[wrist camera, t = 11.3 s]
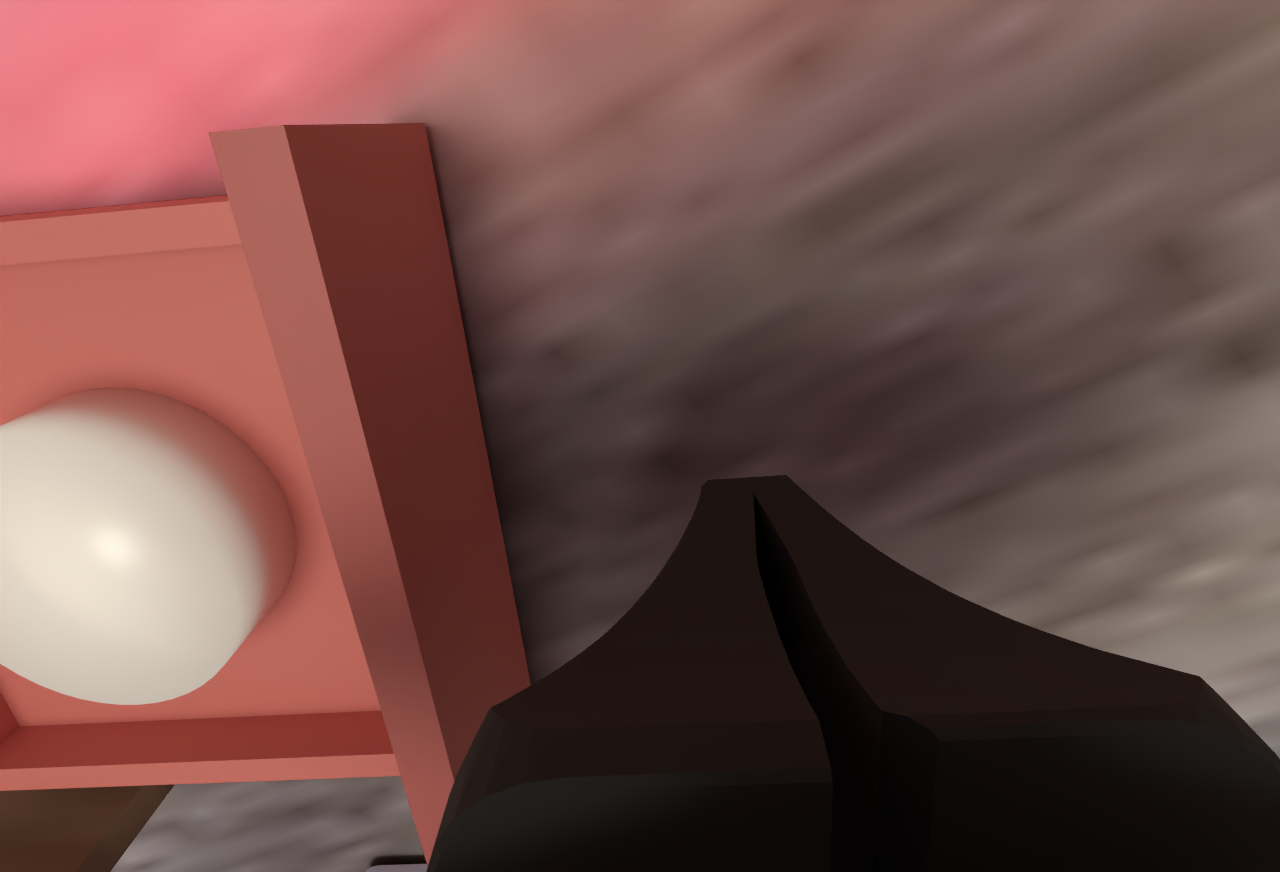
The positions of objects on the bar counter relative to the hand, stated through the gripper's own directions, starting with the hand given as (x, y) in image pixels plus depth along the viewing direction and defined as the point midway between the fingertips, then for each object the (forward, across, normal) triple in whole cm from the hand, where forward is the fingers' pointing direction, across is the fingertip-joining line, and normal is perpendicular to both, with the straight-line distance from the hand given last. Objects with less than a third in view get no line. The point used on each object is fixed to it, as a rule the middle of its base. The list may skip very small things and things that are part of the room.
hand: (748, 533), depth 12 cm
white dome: (+2, +11, 0) cm, 11 cm away
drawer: (+3, +11, 0) cm, 11 cm away
